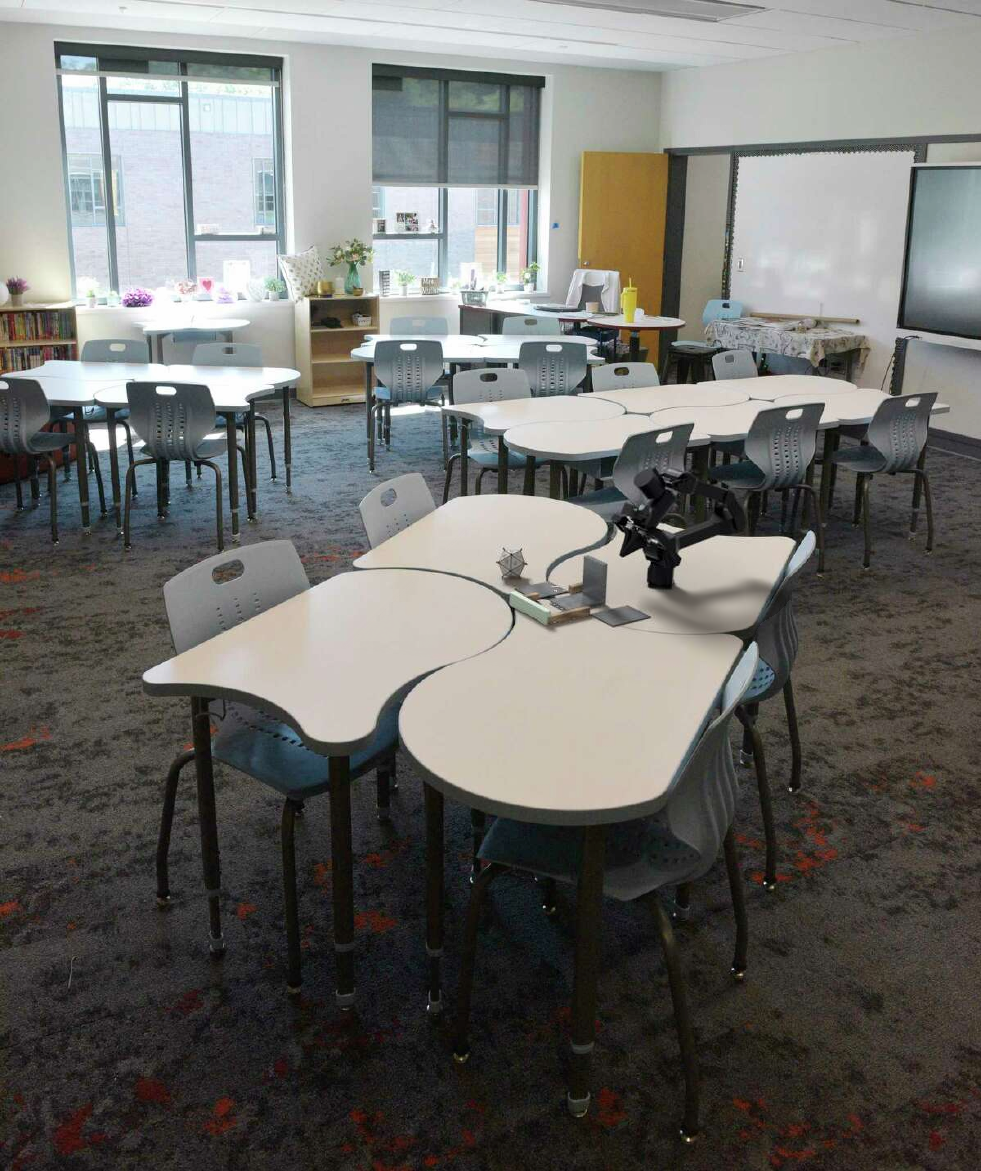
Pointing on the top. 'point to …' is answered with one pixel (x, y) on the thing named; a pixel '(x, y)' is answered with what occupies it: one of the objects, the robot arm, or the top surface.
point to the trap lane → (608, 616)
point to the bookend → (587, 587)
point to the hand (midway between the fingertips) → (620, 556)
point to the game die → (511, 563)
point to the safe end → (529, 607)
